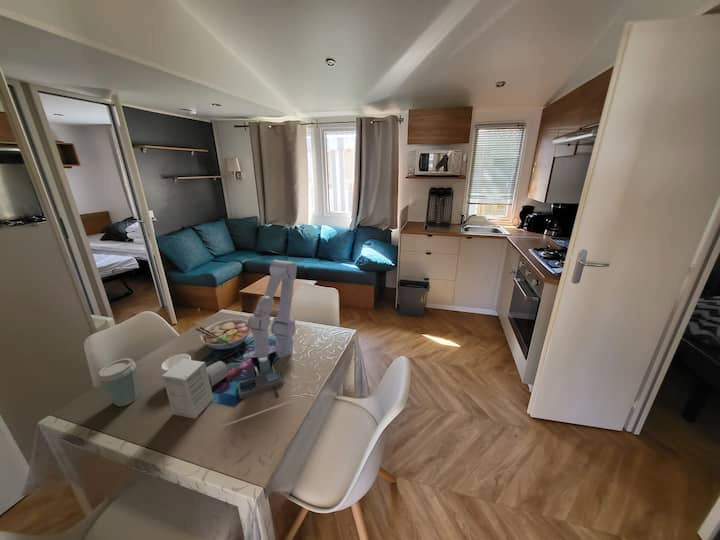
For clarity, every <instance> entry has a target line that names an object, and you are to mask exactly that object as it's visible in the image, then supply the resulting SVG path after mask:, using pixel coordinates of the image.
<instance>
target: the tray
mask: <svg viewBox="0 0 720 540" xmlns="http://www.w3.org/2000/svg"><path fill="white" fill-rule="evenodd" d="M254 370H255V373H256V377H258V376H261V374H260V372H258V369H257V367H256V366H254ZM274 371H276V369H275V367H274V365H273V364H272V369H271V372H274ZM271 372H269V373H271ZM266 374H267V373H266ZM263 375H264V374H263Z"/></svg>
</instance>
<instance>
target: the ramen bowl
mask: <svg viewBox="0 0 720 540" xmlns="http://www.w3.org/2000/svg"><path fill="white" fill-rule="evenodd" d="M195 331H197V332H200V340H201V341H202V342H203V343H204V345H206V346H208V347H210V348H212V349H216V350H227V349H232V348H234V347H237V346H239V345H240V344H242V343H243V342H244V341H245V340H246V339H247V338H248V336H249V335H250V333H252V332H251V329H250V328H249V327H248V320H246V319H242V318H229V319H225V320H220V321H217V322H214V323H212V324H211V325H209V326H207V327H206V328H204V327H202V326H199V328H195Z"/></svg>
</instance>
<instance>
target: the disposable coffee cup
mask: <svg viewBox="0 0 720 540" xmlns="http://www.w3.org/2000/svg"><path fill="white" fill-rule="evenodd" d="M136 368H137V364H136V362H135V360H133V359H132V358H129V357H126V358H121V359H117V360H115V361H113V362H110V363H108V364H107V365H105V366H103V367H102V368H101V369H100V370H99V372H98V373H97V374H96V376H97V381H98V382H99V383H100V384H101V386H102V387H103V389H104V391H105V392H106V393H107V394H108V396H109V397H110V399H111V401H112V402H113V403H114V405H115V406H117V407H124V406H127V405H129V404H132V403H133V402H134V401H135V400H136V399H137V398H138V395H139V390H138V382H137V380H138V379H137V371H136V370H137V369H136Z"/></svg>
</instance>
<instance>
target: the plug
mask: <svg viewBox="0 0 720 540" xmlns="http://www.w3.org/2000/svg"><path fill="white" fill-rule="evenodd" d="M258 360H259V368H260V374H261V375H263V374H266V373H269V372H271V368H270V361H269V357H268V355H267V357H265V358H261V357H258Z"/></svg>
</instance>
